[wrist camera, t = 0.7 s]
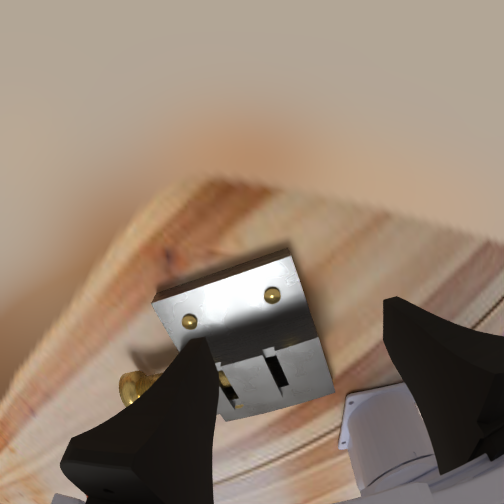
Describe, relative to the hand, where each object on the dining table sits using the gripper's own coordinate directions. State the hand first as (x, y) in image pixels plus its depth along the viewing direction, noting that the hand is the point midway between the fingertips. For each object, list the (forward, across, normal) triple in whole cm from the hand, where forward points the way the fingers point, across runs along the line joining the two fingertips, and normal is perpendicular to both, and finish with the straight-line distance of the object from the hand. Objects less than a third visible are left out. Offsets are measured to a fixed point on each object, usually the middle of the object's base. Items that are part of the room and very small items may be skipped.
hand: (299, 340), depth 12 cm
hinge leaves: (+10, +3, +7) cm, 13 cm away
